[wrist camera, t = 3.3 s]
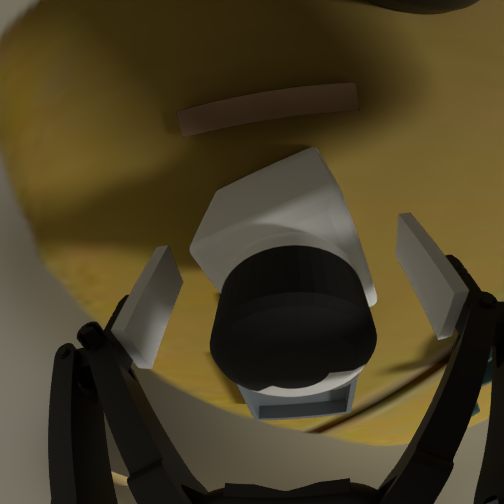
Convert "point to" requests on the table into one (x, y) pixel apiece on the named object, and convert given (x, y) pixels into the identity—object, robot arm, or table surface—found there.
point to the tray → (299, 404)
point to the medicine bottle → (287, 280)
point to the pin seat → (268, 107)
